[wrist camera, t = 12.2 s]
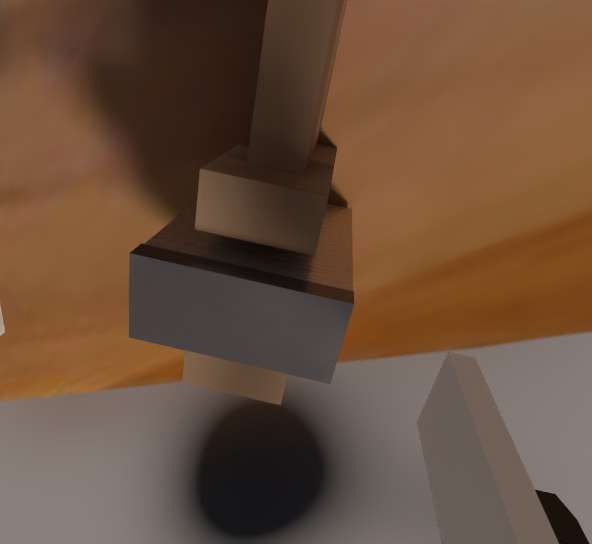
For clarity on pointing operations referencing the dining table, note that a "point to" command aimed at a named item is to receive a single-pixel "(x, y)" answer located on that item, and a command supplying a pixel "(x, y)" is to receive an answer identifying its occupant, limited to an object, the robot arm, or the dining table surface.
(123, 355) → the dining table surface
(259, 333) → the bracket plate
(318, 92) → the brown long notched block
